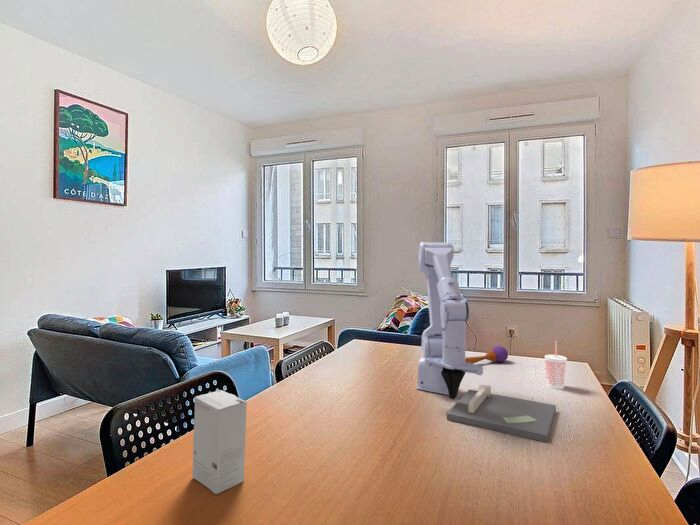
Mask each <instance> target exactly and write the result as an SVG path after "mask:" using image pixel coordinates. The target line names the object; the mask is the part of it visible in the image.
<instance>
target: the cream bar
mask: <svg viewBox="0 0 700 525" xmlns="http://www.w3.org/2000/svg"><path fill="white" fill-rule="evenodd" d="M478 389H479V390H477V391H478V392H477V394H476V395H475V396H474V397H473V398H472V399H471V400H470V401H469V408H468V412H470V413H474V412H475V411H476V409H477V408H478V407H479V406H480V404H481V403H482V402H483V401H484V399H485V398H486V397H491V394H492V386H490V385H488V384H480V385H479V388H478Z"/></svg>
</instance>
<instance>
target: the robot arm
mask: <svg viewBox="0 0 700 525" xmlns="http://www.w3.org/2000/svg"><path fill="white" fill-rule="evenodd" d="M454 251H455V250H454V245H453V243H452V242H451V241H450V242H449V241H448V242H424V241H421V242H420V243H419V245H418V254H417V255H418V267H419V271H420V272H421V273H424V276H425V279H426V290H427V302H428V303H427V304H428V313H429V314H428V315H429V326H428V327H427V328H426V329H424V330H423V332H422V334H421V343H420V344H421V354H422V356H421V358H420V359H419V361H418V366H417V386H416V389H417V390H421V391H426V392H431V393H436V394H442V395H445V396H446V395H447V396H449V399H452V400H456V399H457V397H458V393H459V388H460V387H461V386H460V385H461V383H462V381H463V379H464V377H465V374H466V373H469V374H473V375H475V374H476V375H477V376H482V375H483V374H484V366H483V365H478V364H476V363H474V364H471V363H468V362H465V358H466V325H467V324H466V323H467V322H468V321H469V318H470V305H469V301H468V300H467V299H465V296H462V292H461V290H460V287H459V282H458V280H456V278H453V276H452V268H451V265H452V262H453V259H454V255H455V254H454Z"/></svg>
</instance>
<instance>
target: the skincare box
mask: <svg viewBox="0 0 700 525" xmlns="http://www.w3.org/2000/svg"><path fill="white" fill-rule="evenodd" d="M247 403H248V402H247V401H246V400H244V399H242V398H240V397H239V396H236V395H235V394H232V393H229V392H226V391H225V390H222V389H220V390H217V391H212V392H208V393H205V394H200V395H196V396H194V417H193V418H194V419H193V420H194V421H193V441H192V442H193V446H192V469H191V470H192V472H191V477H192V479H195V481H198V482H199V483H200V484H202V485H203V486H204V487H206V488H207V489H209V490H210V492H212V493H213V494H215V495H218V494H220V493H222V492H224V491H227V490H228V489H231V488H233V487H235V486H237V485H239V484H241V483H244V482H245V478H244V477H245V461H246V460H245V458H246V457H245V456H246V454H245V452H246V427H247Z"/></svg>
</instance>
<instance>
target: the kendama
mask: <svg viewBox="0 0 700 525" xmlns="http://www.w3.org/2000/svg"><path fill="white" fill-rule="evenodd" d="M508 357H509V352H508V350H507V349H506V348H505V347H503V346H501V345H496V346H494V347H493V348H492V349H490V350H489V351H487V352H486V354H485V355H482V356H469V357H465V362H468V363H471V364H477V363H478V362H481V361H484V360H487V361H491V362H493V363H495V362H496V363H503V362H505V361H507V360H508Z"/></svg>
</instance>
